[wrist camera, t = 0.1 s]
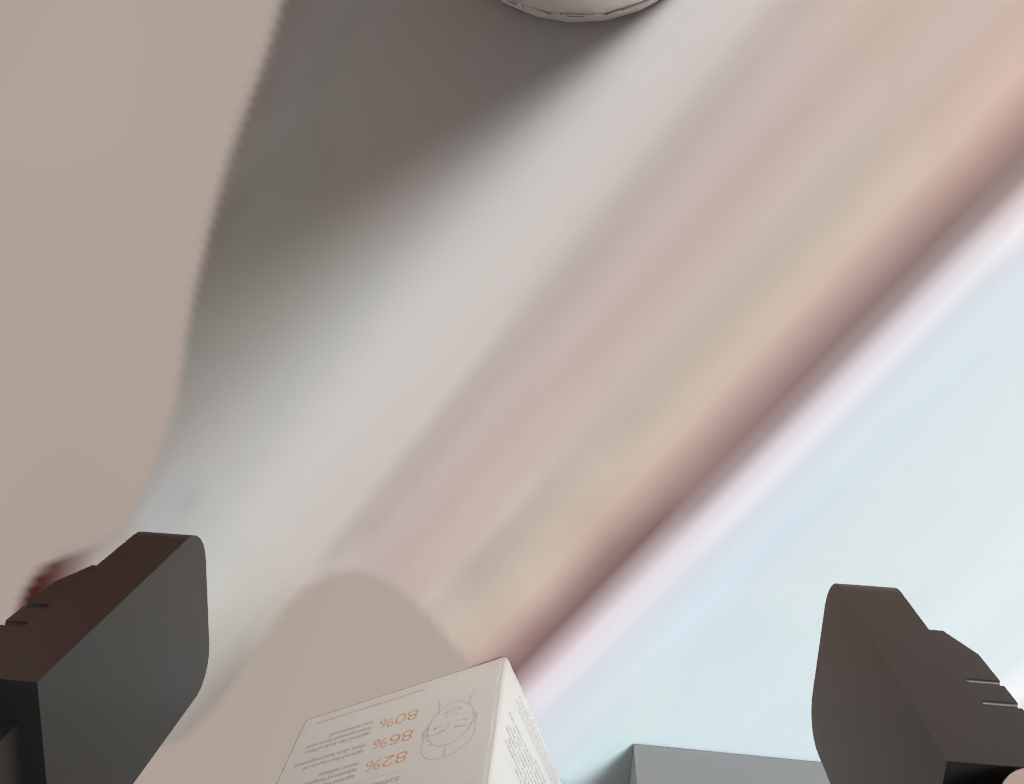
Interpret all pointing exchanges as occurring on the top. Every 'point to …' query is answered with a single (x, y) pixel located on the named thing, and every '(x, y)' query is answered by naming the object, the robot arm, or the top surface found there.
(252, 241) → the top surface
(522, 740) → the small box
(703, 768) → the loading dock
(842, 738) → the robot arm
